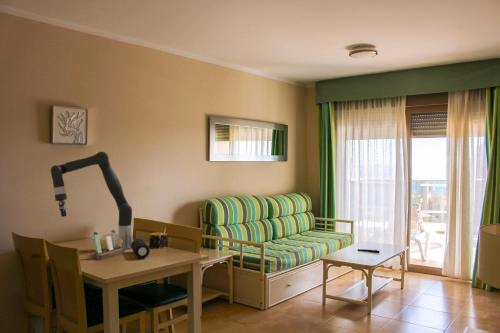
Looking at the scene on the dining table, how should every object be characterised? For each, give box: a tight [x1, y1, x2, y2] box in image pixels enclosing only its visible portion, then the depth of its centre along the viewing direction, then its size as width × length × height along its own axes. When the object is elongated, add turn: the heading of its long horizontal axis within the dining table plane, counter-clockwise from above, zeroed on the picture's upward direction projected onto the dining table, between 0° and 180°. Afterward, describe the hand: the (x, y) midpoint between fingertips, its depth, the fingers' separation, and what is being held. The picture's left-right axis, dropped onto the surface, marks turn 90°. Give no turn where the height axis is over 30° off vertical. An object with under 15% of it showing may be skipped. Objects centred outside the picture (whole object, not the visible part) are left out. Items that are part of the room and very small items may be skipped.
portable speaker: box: [131, 238, 151, 259], centre depth 294 cm, size 26×10×10 cm, turn 22°
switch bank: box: [90, 246, 125, 261], centre depth 290 cm, size 9×23×5 cm, turn 157°
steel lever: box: [110, 229, 118, 249], centre depth 299 cm, size 2×3×13 cm
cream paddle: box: [104, 234, 114, 251], centre depth 293 cm, size 1×4×10 cm, turn 157°
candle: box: [148, 232, 168, 248], centre depth 325 cm, size 10×10×10 cm
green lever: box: [92, 231, 103, 254], centre depth 283 cm, size 3×4×15 cm
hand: (64, 216), depth 296 cm, fingers open, 8 cm apart
